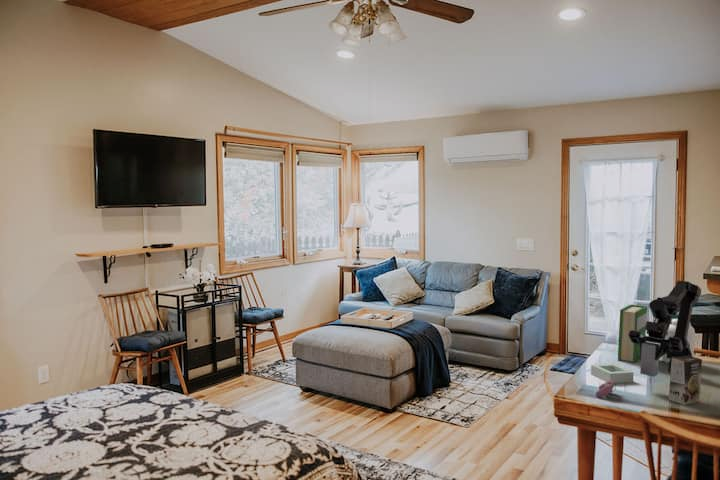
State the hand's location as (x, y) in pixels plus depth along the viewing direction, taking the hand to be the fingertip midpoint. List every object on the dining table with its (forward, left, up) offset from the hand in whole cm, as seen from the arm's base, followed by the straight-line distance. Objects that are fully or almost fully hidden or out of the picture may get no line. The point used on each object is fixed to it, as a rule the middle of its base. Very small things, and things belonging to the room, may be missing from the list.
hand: (648, 358), depth 213 cm
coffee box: (-10, +8, -13) cm, 19 cm away
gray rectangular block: (-1, -1, -7) cm, 7 cm away
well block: (+9, -15, -13) cm, 22 cm away
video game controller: (+17, +8, -13) cm, 23 cm away
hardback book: (-8, -49, -13) cm, 51 cm away
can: (-27, -46, -13) cm, 55 cm away
